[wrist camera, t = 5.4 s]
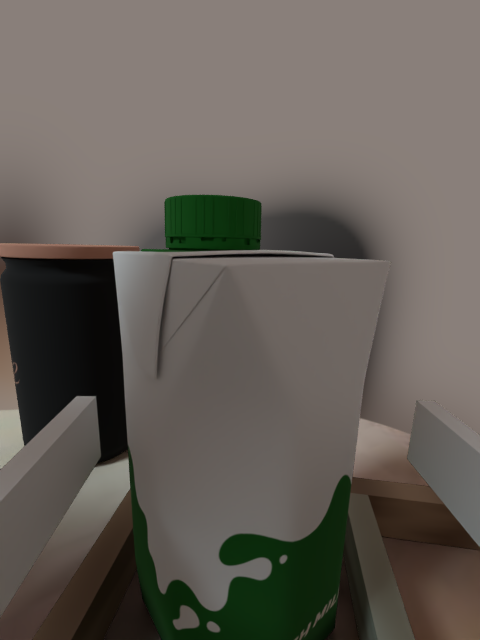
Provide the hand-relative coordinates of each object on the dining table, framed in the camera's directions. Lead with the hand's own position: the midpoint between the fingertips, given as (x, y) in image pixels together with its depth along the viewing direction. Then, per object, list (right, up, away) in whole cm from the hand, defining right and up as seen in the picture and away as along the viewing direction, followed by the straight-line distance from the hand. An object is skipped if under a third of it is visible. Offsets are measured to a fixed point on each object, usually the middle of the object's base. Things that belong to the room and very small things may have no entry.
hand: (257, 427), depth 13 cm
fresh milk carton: (-1, -11, +3) cm, 11 cm away
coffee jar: (-15, -7, +18) cm, 24 cm away
